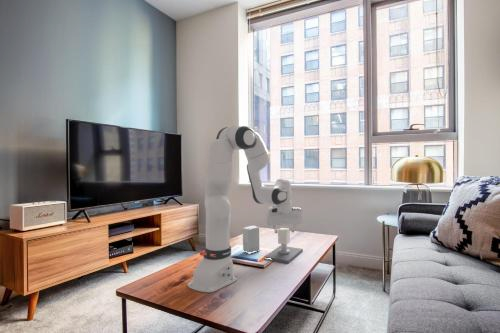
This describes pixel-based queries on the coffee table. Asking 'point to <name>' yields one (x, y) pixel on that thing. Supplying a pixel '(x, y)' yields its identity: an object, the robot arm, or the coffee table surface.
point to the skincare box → (251, 238)
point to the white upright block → (283, 236)
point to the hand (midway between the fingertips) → (284, 232)
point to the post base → (284, 254)
